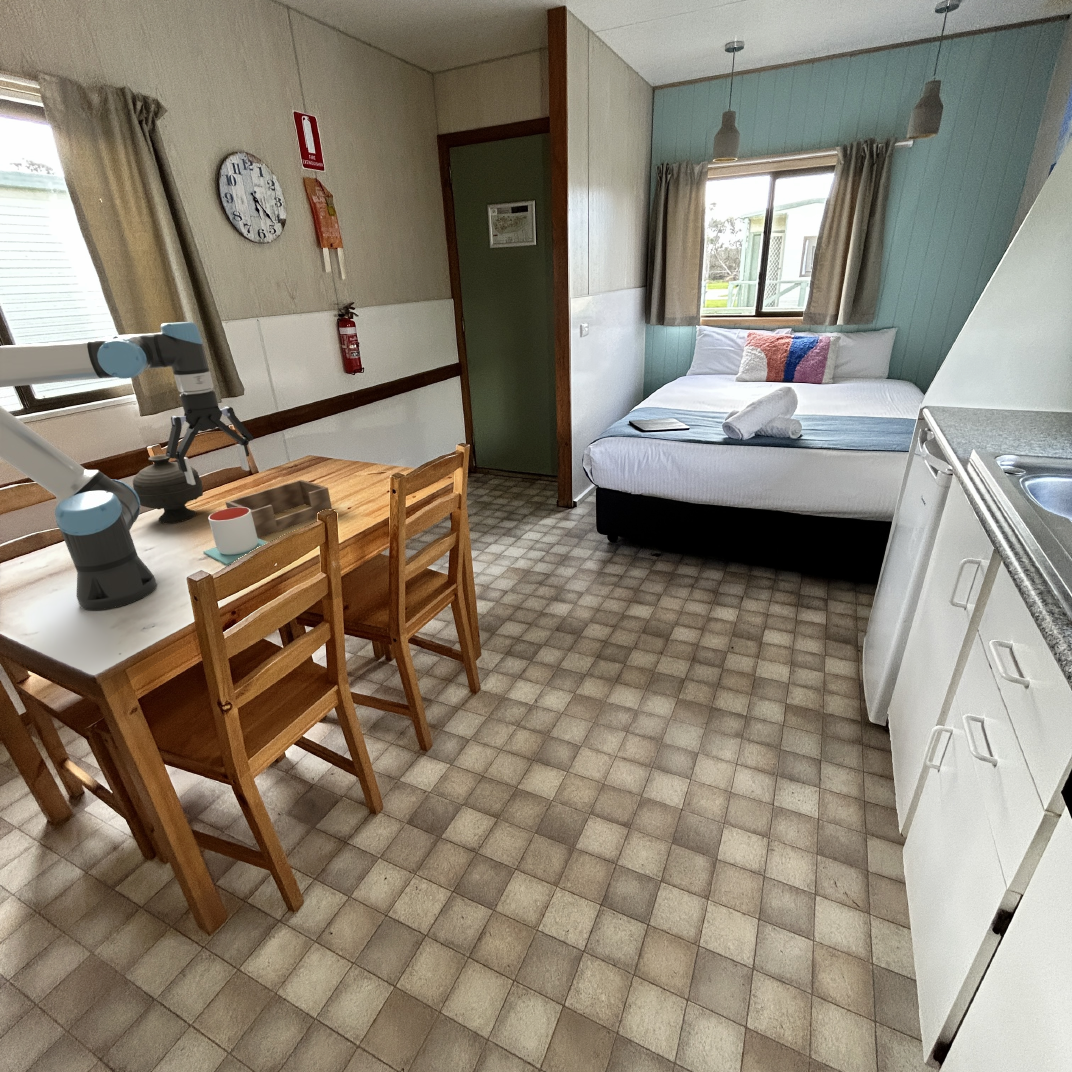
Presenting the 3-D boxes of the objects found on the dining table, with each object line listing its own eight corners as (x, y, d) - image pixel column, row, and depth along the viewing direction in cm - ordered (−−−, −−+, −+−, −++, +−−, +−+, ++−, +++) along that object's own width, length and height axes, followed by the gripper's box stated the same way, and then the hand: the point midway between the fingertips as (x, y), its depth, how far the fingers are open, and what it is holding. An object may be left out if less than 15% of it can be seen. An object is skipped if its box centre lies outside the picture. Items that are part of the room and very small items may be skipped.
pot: (225, 508, 185) (201, 448, 176) (172, 533, 171) (144, 470, 162) (189, 502, 193) (166, 444, 184) (137, 526, 179) (108, 465, 170)
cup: (243, 557, 150) (233, 521, 146) (209, 555, 152) (199, 520, 148) (267, 541, 159) (258, 507, 155) (234, 540, 161) (225, 506, 157)
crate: (258, 538, 163) (251, 512, 160) (232, 527, 172) (225, 501, 168) (332, 512, 180) (327, 487, 177) (305, 503, 189) (300, 479, 186)
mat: (227, 565, 148) (226, 563, 147) (203, 553, 155) (203, 551, 155) (275, 547, 157) (274, 545, 157) (250, 536, 164) (250, 535, 164)
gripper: (145, 401, 128) (173, 493, 137) (255, 384, 146) (273, 466, 154) (132, 398, 133) (160, 487, 141) (240, 382, 150) (259, 462, 159)
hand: (219, 476), depth 148 cm, fingers open, 13 cm apart
